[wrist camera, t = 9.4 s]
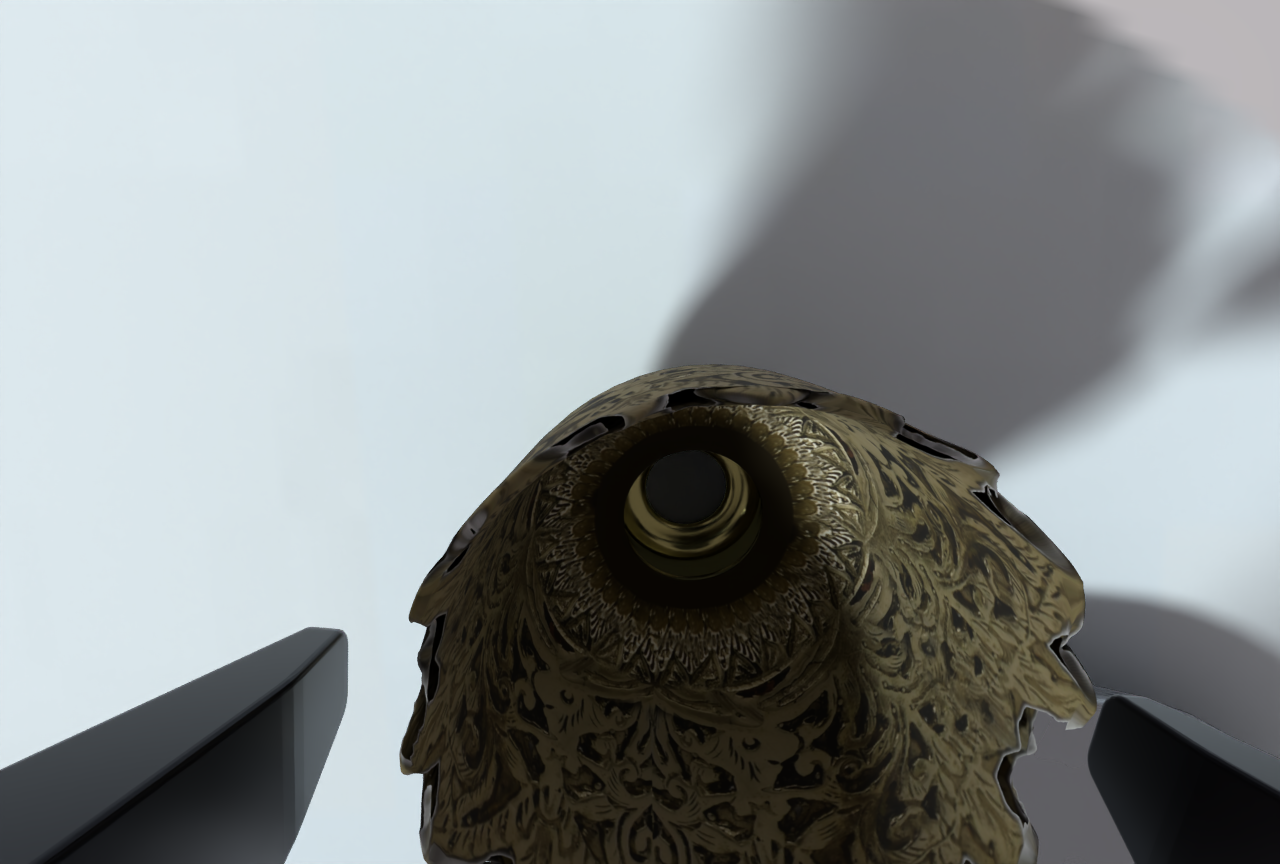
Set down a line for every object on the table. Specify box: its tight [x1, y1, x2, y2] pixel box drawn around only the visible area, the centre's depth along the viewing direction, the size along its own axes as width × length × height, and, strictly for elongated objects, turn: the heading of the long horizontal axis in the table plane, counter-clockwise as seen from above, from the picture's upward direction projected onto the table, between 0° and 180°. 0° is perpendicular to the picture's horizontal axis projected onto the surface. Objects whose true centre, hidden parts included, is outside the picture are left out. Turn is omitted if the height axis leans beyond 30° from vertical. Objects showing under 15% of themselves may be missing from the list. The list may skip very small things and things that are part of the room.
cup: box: [400, 364, 1097, 864], centre depth 12 cm, size 8×7×8 cm
